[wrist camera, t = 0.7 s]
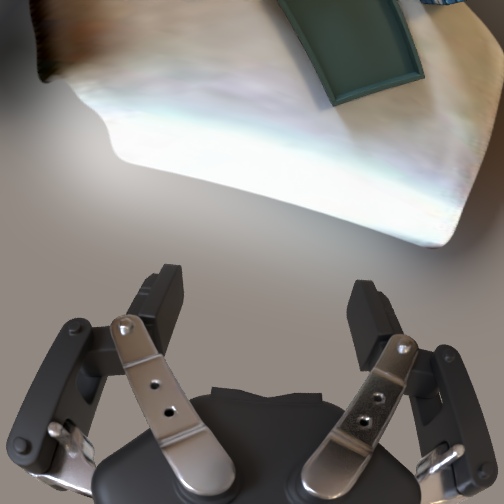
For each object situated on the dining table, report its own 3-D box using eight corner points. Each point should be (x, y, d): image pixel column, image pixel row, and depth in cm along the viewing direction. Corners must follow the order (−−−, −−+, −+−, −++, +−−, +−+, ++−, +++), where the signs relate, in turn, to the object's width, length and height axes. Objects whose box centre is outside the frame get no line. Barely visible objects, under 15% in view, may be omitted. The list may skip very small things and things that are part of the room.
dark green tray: (270, -9, 22) (270, -11, 20) (370, -38, 17) (376, -40, 16) (330, 101, 31) (333, 106, 29) (418, 74, 26) (425, 78, 25)
